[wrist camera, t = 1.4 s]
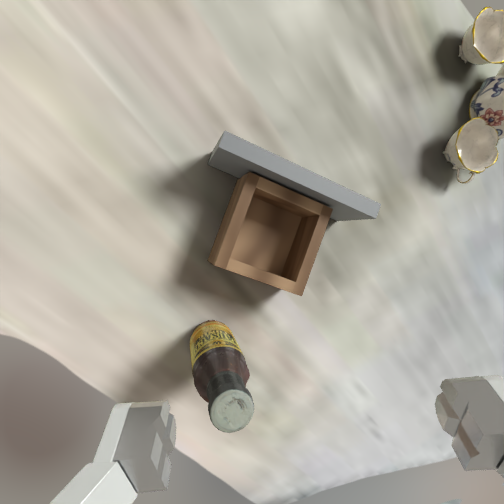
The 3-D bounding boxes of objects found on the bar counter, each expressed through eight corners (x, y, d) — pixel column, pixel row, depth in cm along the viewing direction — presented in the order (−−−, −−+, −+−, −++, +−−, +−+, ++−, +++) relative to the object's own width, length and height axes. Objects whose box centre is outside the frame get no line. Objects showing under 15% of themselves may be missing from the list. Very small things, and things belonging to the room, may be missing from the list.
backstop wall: (207, 164, 47) (218, 146, 37) (212, 151, 47) (224, 130, 37) (337, 221, 52) (376, 218, 43) (341, 209, 53) (381, 204, 43)
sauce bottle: (229, 315, 49) (270, 369, 30) (232, 356, 49) (275, 434, 30) (184, 321, 47) (197, 383, 28) (188, 363, 48) (204, 452, 29)
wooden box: (207, 260, 48) (214, 265, 41) (237, 180, 48) (249, 171, 41) (283, 287, 51) (301, 296, 44) (310, 212, 51) (333, 208, 44)
